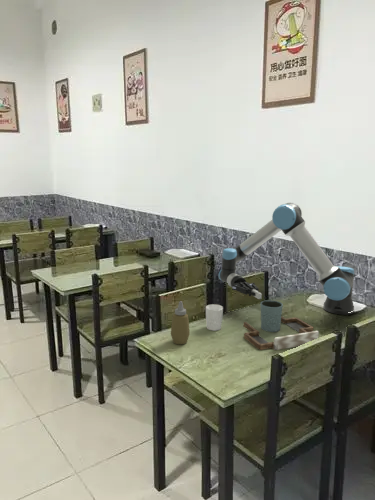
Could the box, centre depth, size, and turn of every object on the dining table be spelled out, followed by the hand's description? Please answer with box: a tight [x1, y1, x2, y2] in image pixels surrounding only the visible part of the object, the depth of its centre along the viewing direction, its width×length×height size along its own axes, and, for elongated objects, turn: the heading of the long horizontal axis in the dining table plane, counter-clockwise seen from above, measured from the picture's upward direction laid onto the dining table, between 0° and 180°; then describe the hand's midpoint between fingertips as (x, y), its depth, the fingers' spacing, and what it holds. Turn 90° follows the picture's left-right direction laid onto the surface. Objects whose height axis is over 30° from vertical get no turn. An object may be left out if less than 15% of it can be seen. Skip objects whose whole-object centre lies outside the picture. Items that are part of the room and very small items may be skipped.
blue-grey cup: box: [259, 299, 284, 333], centre depth 192 cm, size 10×10×12 cm
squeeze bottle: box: [170, 300, 191, 345], centre depth 175 cm, size 8×8×18 cm
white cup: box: [205, 303, 224, 332], centre depth 192 cm, size 8×8×10 cm
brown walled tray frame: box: [242, 316, 320, 351], centre depth 186 cm, size 33×26×5 cm
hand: (260, 296), depth 199 cm, fingers closed
